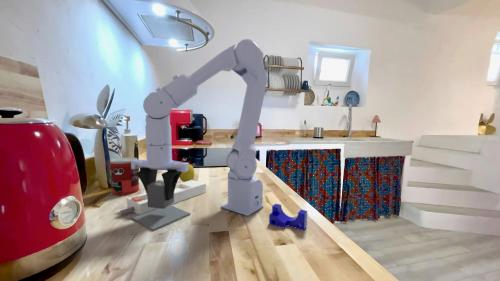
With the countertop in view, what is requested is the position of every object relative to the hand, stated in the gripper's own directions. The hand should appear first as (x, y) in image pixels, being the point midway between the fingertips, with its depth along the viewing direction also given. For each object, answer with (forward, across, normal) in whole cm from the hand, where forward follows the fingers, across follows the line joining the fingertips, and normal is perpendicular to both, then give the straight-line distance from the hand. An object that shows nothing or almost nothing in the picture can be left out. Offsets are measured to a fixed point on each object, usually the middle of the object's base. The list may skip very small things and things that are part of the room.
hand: (160, 198), depth 53 cm
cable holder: (+5, -32, -3) cm, 32 cm away
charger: (+2, 0, 0) cm, 2 cm away
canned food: (+5, +22, -14) cm, 27 cm away
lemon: (+5, +7, -26) cm, 27 cm away
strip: (+5, +5, -9) cm, 11 cm away
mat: (+5, 0, 0) cm, 5 cm away
